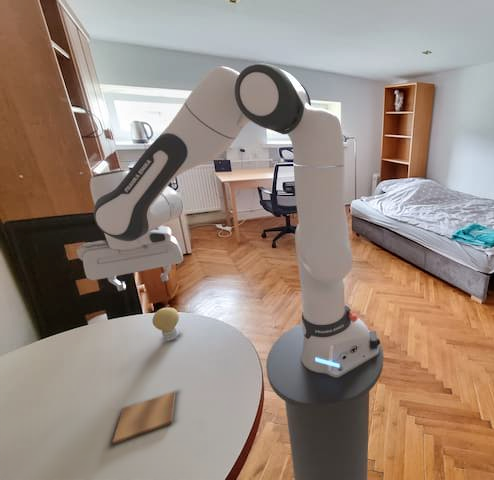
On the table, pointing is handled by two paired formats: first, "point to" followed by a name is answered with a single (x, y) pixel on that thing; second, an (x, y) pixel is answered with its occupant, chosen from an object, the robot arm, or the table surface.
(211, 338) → the table surface
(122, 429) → the wooden board
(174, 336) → the light bulb
